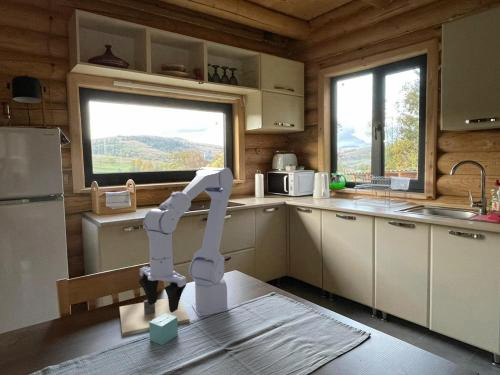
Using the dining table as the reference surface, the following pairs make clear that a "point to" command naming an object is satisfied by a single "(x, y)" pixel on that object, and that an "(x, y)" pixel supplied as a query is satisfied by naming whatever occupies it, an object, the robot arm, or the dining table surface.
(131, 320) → the base plate
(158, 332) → the mint green mini box
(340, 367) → the dining table surface
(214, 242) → the robot arm
